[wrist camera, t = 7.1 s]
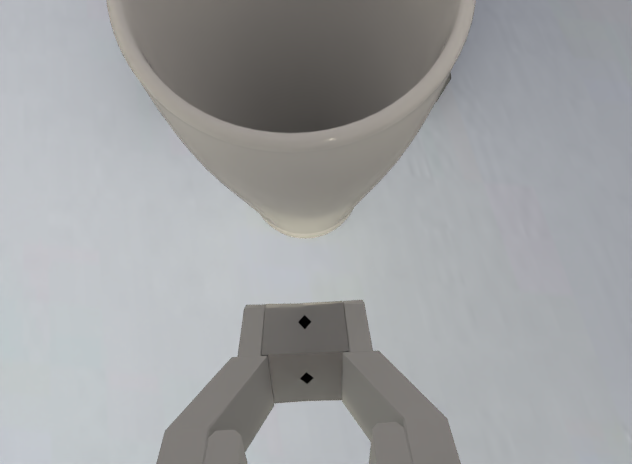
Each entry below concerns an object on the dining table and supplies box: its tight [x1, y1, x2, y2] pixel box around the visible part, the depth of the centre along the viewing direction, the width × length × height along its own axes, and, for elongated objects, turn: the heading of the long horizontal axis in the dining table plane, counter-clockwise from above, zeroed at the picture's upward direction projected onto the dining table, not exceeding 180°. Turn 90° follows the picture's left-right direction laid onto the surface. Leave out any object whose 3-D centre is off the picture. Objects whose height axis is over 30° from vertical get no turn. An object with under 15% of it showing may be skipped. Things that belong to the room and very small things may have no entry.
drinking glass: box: [107, 0, 476, 239], centre depth 15 cm, size 7×7×15 cm
